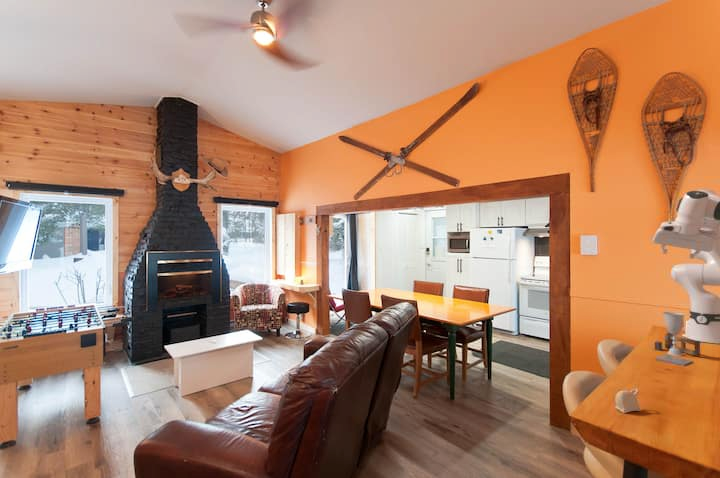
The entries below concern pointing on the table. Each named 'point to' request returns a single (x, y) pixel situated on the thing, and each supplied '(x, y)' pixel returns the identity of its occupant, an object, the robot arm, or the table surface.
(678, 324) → the chalice
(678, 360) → the coaster
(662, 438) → the table surface
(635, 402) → the decorative ornament
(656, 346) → the latch block
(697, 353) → the gate leaf
